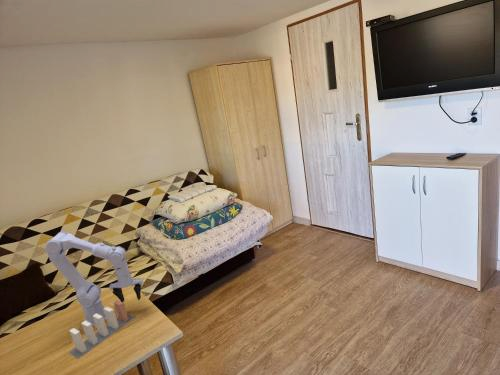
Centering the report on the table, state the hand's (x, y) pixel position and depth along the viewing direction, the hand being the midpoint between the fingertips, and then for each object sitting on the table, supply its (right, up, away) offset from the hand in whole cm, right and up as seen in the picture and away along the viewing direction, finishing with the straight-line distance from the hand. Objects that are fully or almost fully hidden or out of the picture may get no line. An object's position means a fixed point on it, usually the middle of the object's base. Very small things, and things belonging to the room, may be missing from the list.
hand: (131, 300), depth 157 cm
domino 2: (-11, -13, -14) cm, 22 cm away
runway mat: (-8, -11, -10) cm, 17 cm away
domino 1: (-14, -14, -18) cm, 27 cm away
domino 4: (-5, -9, -6) cm, 13 cm away
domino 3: (-8, -11, -10) cm, 17 cm away
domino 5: (-2, -8, -3) cm, 9 cm away
